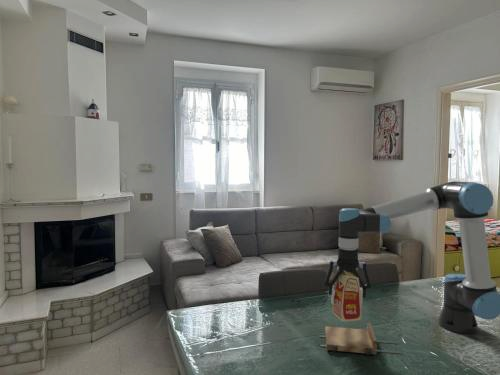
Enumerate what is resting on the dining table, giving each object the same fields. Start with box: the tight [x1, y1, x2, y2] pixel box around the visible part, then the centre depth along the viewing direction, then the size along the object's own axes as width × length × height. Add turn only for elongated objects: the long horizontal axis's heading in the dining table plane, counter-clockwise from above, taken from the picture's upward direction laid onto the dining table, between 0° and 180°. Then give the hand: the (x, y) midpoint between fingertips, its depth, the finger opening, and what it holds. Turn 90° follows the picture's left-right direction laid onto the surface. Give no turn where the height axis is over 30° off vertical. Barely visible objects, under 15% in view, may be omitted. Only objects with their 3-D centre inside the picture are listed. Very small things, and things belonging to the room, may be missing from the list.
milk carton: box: [332, 268, 363, 323], centre depth 144 cm, size 9×9×20 cm
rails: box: [319, 335, 403, 355], centre depth 144 cm, size 30×9×1 cm, turn 80°
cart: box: [324, 322, 378, 355], centre depth 145 cm, size 18×18×5 cm
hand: (346, 304), depth 144 cm, fingers closed on milk carton, 10 cm apart
